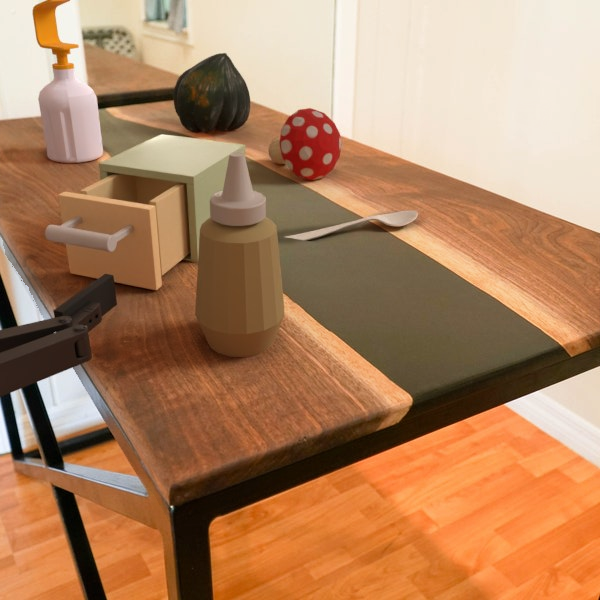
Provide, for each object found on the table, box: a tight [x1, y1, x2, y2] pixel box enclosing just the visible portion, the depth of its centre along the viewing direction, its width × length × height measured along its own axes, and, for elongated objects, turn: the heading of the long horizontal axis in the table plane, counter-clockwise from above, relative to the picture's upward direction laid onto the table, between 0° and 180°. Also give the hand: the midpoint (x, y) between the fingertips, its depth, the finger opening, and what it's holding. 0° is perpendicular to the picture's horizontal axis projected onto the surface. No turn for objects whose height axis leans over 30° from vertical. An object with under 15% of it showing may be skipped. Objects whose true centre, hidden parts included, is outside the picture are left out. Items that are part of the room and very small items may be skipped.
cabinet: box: [98, 133, 247, 263], centre depth 80 cm, size 14×12×11 cm
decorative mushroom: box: [268, 107, 342, 181], centre depth 105 cm, size 11×11×15 cm
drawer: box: [44, 173, 191, 291], centre depth 70 cm, size 17×11×9 cm, turn 161°
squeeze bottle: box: [194, 152, 285, 358], centre depth 57 cm, size 8×8×18 cm
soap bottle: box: [32, 0, 104, 164], centre depth 106 cm, size 9×9×25 cm
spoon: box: [285, 209, 419, 242], centre depth 85 cm, size 4×21×2 cm, turn 114°
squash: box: [172, 52, 251, 134], centre depth 126 cm, size 14×15×15 cm
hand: (42, 274), depth 55 cm, fingers open, 13 cm apart
